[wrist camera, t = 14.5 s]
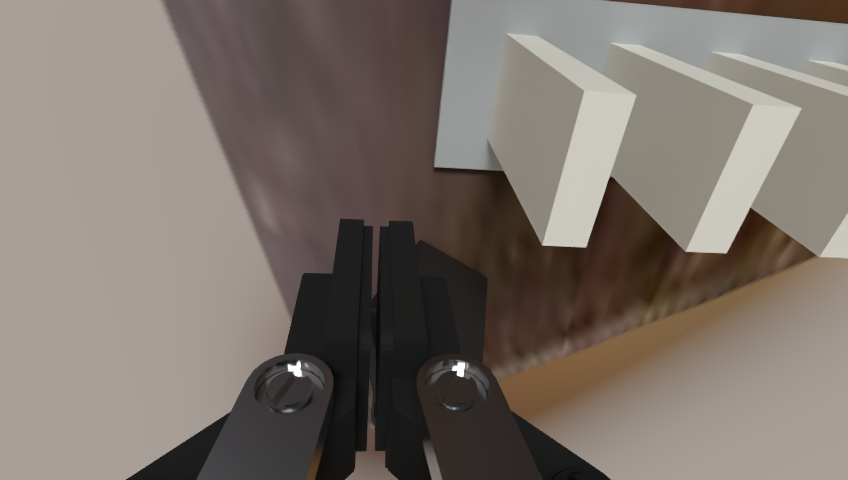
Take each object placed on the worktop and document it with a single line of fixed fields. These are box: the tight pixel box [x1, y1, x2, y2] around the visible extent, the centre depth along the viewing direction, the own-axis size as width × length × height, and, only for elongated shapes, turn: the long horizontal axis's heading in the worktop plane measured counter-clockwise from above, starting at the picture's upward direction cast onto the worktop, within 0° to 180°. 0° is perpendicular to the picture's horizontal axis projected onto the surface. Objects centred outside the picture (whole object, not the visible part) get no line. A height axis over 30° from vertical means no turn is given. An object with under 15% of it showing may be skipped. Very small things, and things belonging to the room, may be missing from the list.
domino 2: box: [602, 43, 802, 253], centre depth 23 cm, size 2×6×12 cm, turn 175°
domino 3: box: [704, 52, 848, 258], centre depth 23 cm, size 2×6×12 cm, turn 175°
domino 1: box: [488, 33, 637, 247], centre depth 22 cm, size 2×6×12 cm, turn 175°
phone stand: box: [369, 240, 487, 426], centre depth 30 cm, size 9×6×12 cm, turn 144°
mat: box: [434, 0, 848, 177], centre depth 28 cm, size 30×10×1 cm, turn 85°
